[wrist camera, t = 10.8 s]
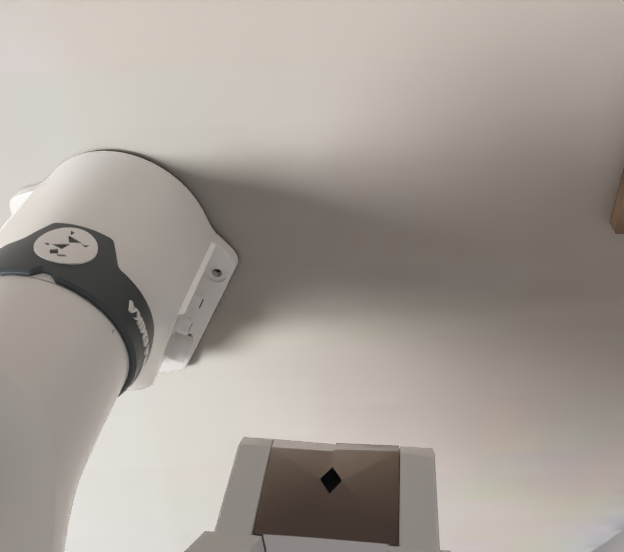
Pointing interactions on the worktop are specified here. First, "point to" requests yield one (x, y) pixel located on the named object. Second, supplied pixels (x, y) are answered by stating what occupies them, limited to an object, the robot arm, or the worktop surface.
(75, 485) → the robot arm
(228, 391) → the worktop surface
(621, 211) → the latch base
